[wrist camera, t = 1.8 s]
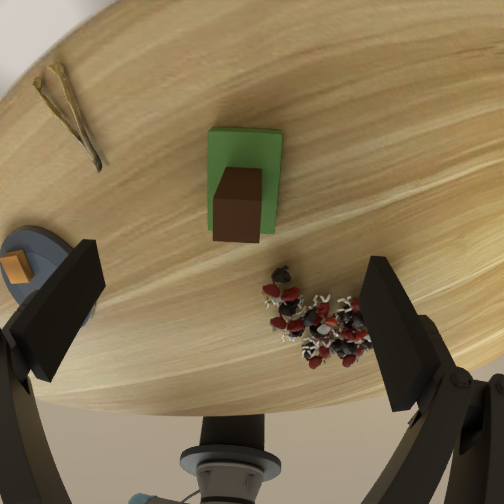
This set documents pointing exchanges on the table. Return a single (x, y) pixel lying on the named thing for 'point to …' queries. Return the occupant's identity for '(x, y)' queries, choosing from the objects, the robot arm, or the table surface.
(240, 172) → the sponge brush
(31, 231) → the plate
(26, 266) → the orange flat block
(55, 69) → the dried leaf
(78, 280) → the robot arm
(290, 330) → the dark lumpy cluster
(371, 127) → the table surface
